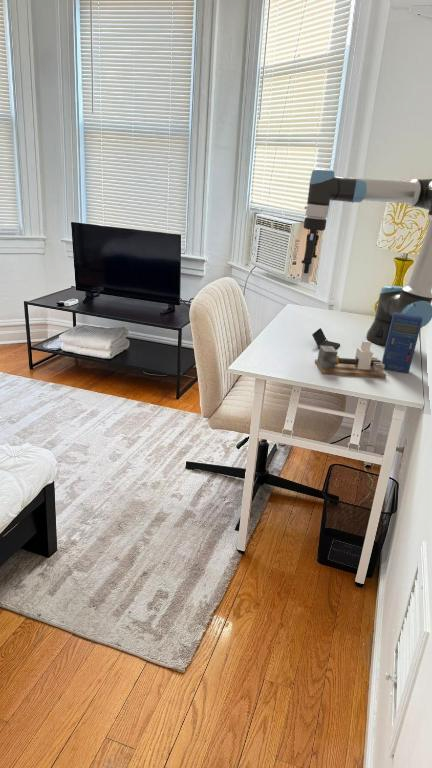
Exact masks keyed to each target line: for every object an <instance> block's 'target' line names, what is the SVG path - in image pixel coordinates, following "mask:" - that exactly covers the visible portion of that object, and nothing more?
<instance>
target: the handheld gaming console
mask: <svg viewBox="0 0 432 768" xmlns="http://www.w3.org/2000/svg"><path fill="white" fill-rule="evenodd" d="M311 336H312V337H313V340H314V341H315V343H316V346H317V347H318V348H317V350H319V348H320V346H333V347H334V349H335V350H336V351H337V349H339V347H340V346H341V343H339V342H334V341H330V340H328V339H327V337H326V335H325V333H324V331H323V329H322V327H320V328H318V329H317V330H316V331H314V332H313V333H312V334H311Z"/></svg>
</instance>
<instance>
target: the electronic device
mask: <svg viewBox="0 0 432 768" xmlns="http://www.w3.org/2000/svg"><path fill="white" fill-rule="evenodd" d="M422 320H423V319H422V316H416V315H410V314H403V313H397V312H394V313H393V317H392V321H391V325H390V329H389V334H388V338H387V342H386V346H385V345H384V351H383V355H382V359H381V362H382V363H383V364H384V365H385V366H384V370H389V371H395V372H400V373H406V374H409V373H410V369H411V366H412V365H411V364H412V362H413V357H414V354H415V350H416V346H417V342H418V338H419V335H420V330H421V328H420V327H421V323H422Z"/></svg>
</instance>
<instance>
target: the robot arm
mask: <svg viewBox="0 0 432 768" xmlns="http://www.w3.org/2000/svg"><path fill="white" fill-rule="evenodd" d="M309 180H310V181H309V188H308V194H307V195H308V196H307V202H306V205H304V209H305V217H304V222H303V228H304V229H306V230H309V233H307V234H306V243H305V252H304V257H303V260H301V264H302V270H301V275H300V276H301V278H300V283H304V284H305V283H306V284H309V282H310V277H313V271H314V264H315V259H317V257H318V256H317V255H316V254H317V253H316V250H317V246H318V243H319V237H320V235H319V231H325V230H326V226H327V218H328V215H329V209H330V202H331V201H332V202H333V201H335V202H344V203H352V204H353V203H362V202H364V201H366V202H368V201H369V202H380V203H381V202H383V203H396V204H406V205H407V206H408V207H412V208H413V207H416V208H420V209H424V210H427V211H428V213H427V216H428V219H429V223H428V227H427V229H426V232H425V235H424V238H423V240H422V244H421V246H420V249H419V251H418V254H417V258H416V261H415V263H414V267H413V270H412V273H411V275H410V277H409V281H408V284H407V285H405V286H398V285H383V286H382V287H381V288H380V289H381V290H380V292H379V297H378V302H377V307H376V312H375V316H374V319H373V321H372V324H371V325H370V327H369V329H368V331H367V333H366V337H365V338H366V340H367V341H368V342H371V343H373V344H378V345H381V346H384V347H385V346H386V342H387V338H388V334H389V329H390V325H391V321H392V317H393V313H394V312H397V313H403V314H410V315H416V316H422V319H423V320H422V323H421V327H420V329H422V328H423V327H425V326H427V325H428V324H429V323H430V322H431V320H432V304H431V303H432V178H425V179H424V178H423V179H421V178H420V179H418V178H417V179H416V178H414V179H412V180H411V181H403V180H391V179H390V180H389V179H375V178H362V177H361V178H360V177H345V176H344V177H343V176H335V171H334V170H332V169H322V168H321V169H320V168H314V169H313V170H312V171H311V175H310V179H309Z"/></svg>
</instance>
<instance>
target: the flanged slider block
mask: <svg viewBox="0 0 432 768" xmlns="http://www.w3.org/2000/svg"><path fill="white" fill-rule="evenodd" d="M371 346H372V342H371V341H368V340H367V341H366V340H364V341H361V346H360V347H357V348H356V352H355V356H354V359H359V361H358V366H357V368H358V369H365V370H369V369H370V364H371V360H372V357H373V354H374V352H373V351H372V350H371Z"/></svg>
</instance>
